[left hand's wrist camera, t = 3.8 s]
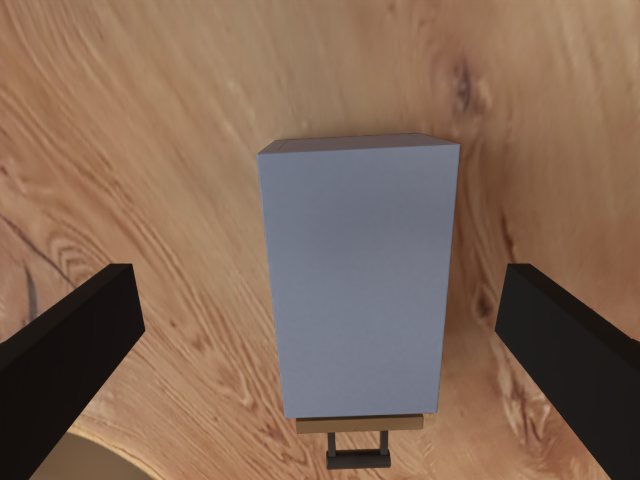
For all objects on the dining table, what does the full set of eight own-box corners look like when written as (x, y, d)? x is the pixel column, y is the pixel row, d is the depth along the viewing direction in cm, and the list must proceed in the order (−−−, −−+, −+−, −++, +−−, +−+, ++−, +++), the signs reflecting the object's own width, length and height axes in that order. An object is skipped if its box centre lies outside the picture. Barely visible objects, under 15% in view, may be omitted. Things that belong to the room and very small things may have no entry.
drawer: (402, 420, 34) (419, 483, 29) (304, 423, 35) (301, 487, 29) (412, 189, 27) (438, 212, 21) (285, 194, 27) (276, 219, 21)
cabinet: (409, 340, 32) (437, 413, 25) (293, 345, 33) (284, 418, 25) (419, 133, 26) (460, 143, 18) (274, 140, 26) (256, 153, 19)
